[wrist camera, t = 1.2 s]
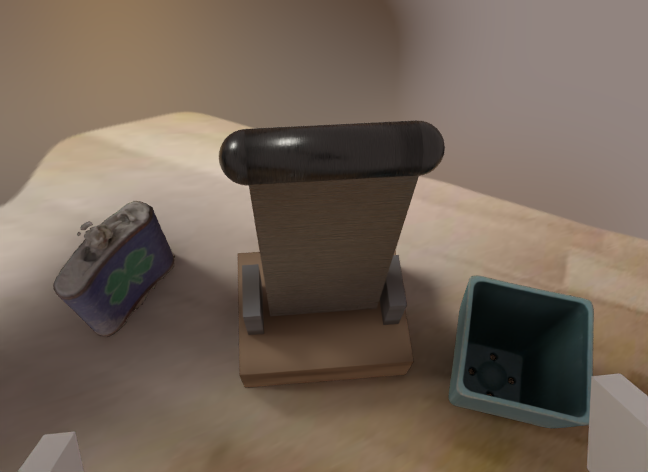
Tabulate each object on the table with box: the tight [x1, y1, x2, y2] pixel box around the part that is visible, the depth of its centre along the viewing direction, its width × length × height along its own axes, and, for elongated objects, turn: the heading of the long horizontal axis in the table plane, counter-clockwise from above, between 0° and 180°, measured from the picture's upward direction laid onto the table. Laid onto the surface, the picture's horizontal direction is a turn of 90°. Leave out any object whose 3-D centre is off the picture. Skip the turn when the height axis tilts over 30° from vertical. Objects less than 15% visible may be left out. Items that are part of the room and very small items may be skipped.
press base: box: [238, 251, 414, 388], centre depth 43 cm, size 10×13×8 cm
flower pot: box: [449, 276, 594, 428], centre depth 41 cm, size 9×9×9 cm
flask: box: [53, 201, 175, 337], centre depth 43 cm, size 9×3×11 cm, turn 147°
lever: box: [219, 121, 445, 316], centre depth 34 cm, size 3×11×21 cm, turn 95°
